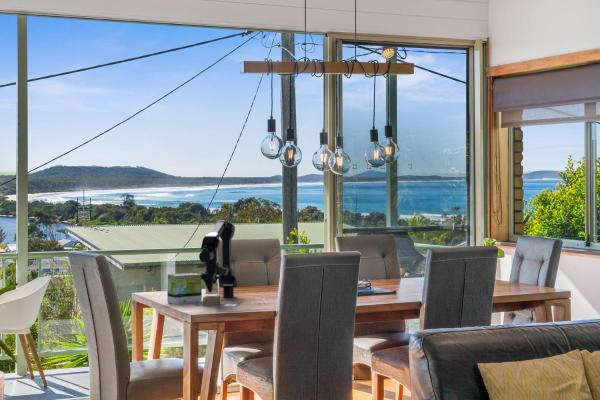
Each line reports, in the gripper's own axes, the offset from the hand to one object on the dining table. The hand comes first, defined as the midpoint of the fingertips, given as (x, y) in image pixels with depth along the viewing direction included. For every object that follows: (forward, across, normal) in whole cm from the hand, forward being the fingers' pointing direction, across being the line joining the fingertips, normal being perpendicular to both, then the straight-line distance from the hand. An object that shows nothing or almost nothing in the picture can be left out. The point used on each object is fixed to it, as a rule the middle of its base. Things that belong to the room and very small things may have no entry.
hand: (211, 291), depth 423 cm
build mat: (+7, +3, -3) cm, 8 cm away
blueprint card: (+7, -1, -10) cm, 12 cm away
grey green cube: (+1, 0, 0) cm, 1 cm away
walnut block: (+7, 0, 0) cm, 7 cm away
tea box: (+8, +10, +17) cm, 21 cm away
